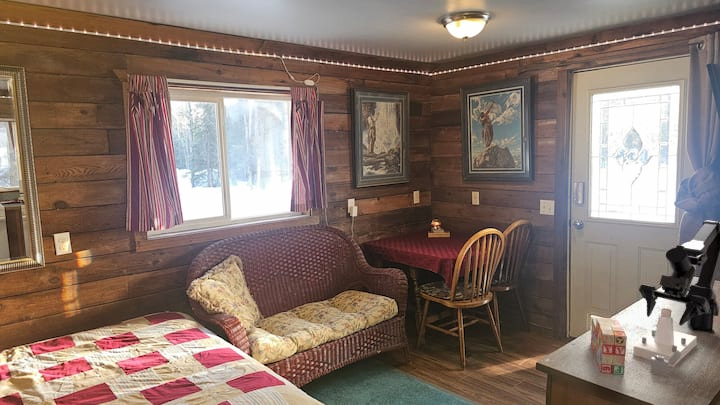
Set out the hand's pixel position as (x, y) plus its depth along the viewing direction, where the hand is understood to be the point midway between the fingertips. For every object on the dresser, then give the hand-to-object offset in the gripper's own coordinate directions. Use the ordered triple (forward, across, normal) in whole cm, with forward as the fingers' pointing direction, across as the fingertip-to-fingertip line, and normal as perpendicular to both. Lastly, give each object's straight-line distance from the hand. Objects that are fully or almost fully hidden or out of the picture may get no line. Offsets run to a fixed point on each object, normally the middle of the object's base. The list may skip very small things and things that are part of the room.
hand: (663, 320), depth 150 cm
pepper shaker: (+5, 0, +7) cm, 8 cm away
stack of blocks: (+20, -9, -4) cm, 22 cm away
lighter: (+18, +7, -2) cm, 19 cm away
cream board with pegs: (+5, 0, +10) cm, 11 cm away
